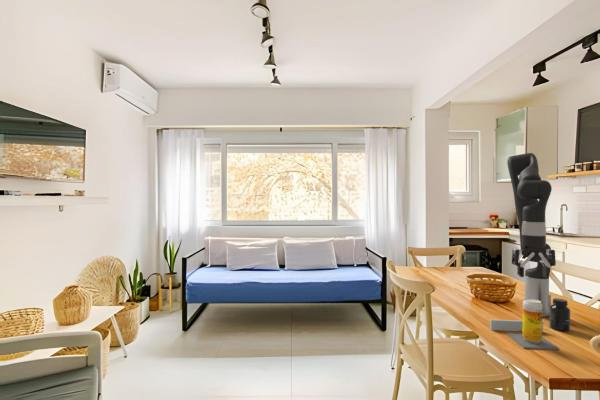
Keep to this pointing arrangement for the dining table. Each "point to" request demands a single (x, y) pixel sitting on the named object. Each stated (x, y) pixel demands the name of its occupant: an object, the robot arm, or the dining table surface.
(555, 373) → the dining table surface
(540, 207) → the robot arm
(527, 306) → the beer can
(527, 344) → the slate coaster
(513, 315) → the dining table surface
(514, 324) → the acrylic wall
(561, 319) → the supplement bottle
